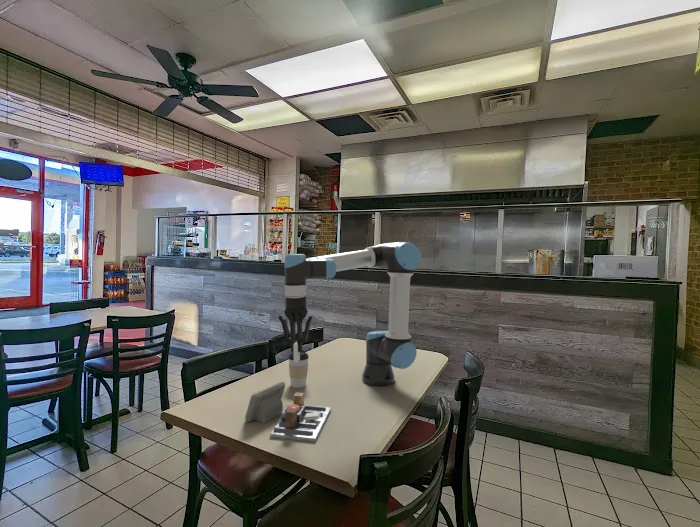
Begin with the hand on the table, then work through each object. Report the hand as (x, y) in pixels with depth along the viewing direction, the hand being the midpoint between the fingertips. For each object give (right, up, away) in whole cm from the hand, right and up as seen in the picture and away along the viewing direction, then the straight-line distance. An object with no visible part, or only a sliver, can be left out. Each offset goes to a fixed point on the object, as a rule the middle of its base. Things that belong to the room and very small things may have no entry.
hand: (296, 360), depth 125 cm
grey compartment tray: (+3, -20, -5) cm, 21 cm away
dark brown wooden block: (0, -19, -12) cm, 22 cm away
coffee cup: (-4, -20, +29) cm, 35 cm away
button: (-1, -18, -5) cm, 19 cm away
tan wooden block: (0, -19, +2) cm, 19 cm away
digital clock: (-11, -20, 0) cm, 23 cm away
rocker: (+6, -18, -6) cm, 20 cm away
